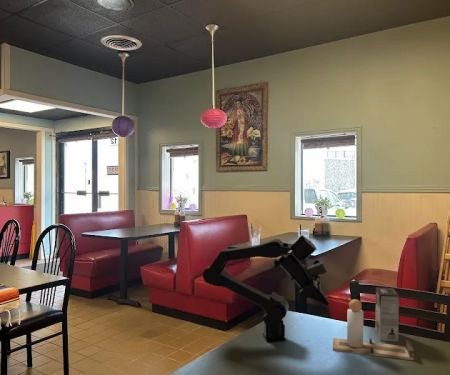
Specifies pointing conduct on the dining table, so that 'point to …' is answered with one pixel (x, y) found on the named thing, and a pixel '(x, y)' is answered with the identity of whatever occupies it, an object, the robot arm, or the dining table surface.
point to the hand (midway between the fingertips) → (328, 304)
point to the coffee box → (387, 314)
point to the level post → (355, 324)
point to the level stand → (376, 349)
